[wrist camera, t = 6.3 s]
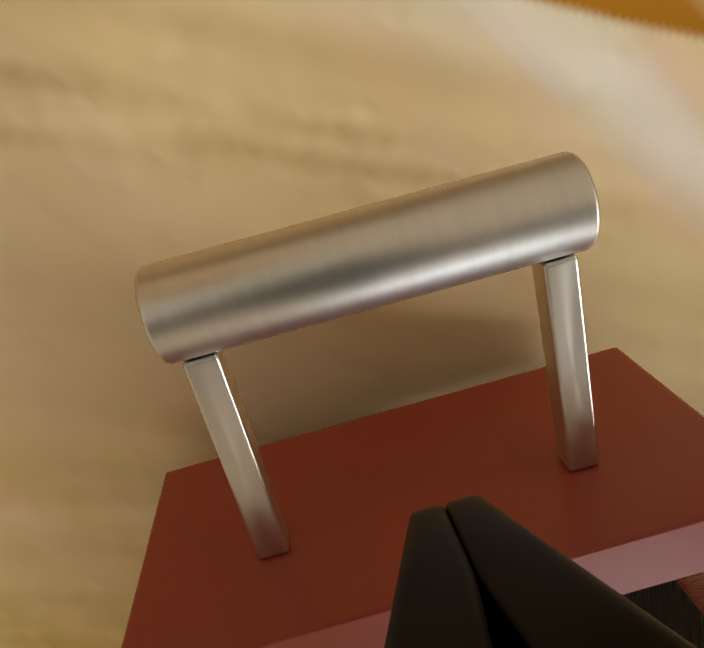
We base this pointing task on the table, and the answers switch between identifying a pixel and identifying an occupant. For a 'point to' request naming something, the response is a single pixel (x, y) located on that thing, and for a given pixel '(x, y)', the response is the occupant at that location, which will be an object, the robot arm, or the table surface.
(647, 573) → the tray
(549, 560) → the robot arm
